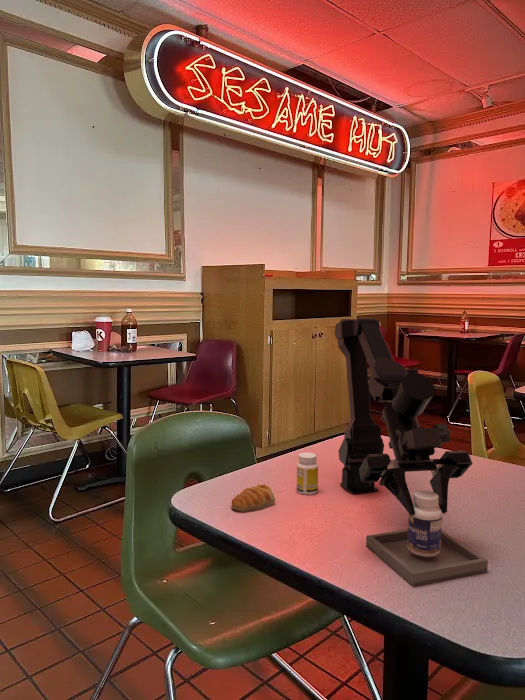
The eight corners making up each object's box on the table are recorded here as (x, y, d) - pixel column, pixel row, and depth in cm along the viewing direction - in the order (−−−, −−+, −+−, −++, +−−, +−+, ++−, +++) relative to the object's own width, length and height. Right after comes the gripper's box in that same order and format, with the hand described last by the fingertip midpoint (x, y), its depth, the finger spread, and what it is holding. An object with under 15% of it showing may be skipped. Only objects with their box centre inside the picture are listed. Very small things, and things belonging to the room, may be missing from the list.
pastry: (245, 517, 109) (245, 498, 109) (223, 508, 114) (223, 490, 114) (277, 504, 116) (278, 487, 115) (255, 496, 121) (255, 479, 120)
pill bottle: (400, 547, 93) (402, 492, 92) (421, 540, 96) (424, 486, 95) (425, 561, 89) (428, 503, 88) (447, 552, 92) (449, 496, 90)
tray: (433, 535, 101) (433, 525, 101) (487, 572, 88) (487, 560, 88) (366, 546, 97) (366, 535, 96) (412, 586, 83) (413, 574, 83)
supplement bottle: (319, 489, 125) (320, 453, 124) (315, 496, 120) (315, 459, 119) (299, 486, 126) (300, 450, 125) (293, 493, 122) (294, 456, 121)
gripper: (366, 408, 92) (389, 496, 82) (469, 405, 95) (503, 490, 85) (350, 440, 101) (369, 524, 91) (445, 437, 104) (473, 517, 94)
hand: (428, 513), depth 90 cm, fingers closed on pill bottle, 5 cm apart
